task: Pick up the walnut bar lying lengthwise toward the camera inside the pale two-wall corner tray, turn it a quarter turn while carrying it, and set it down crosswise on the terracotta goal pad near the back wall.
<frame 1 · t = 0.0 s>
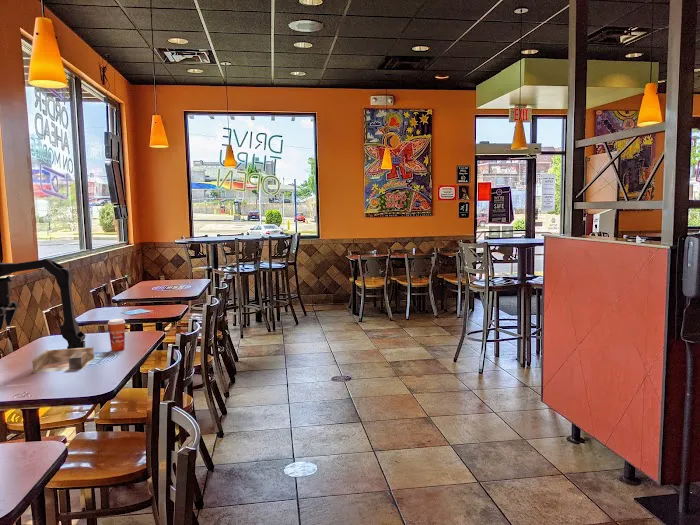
hand: (4, 327, 232), 15 cm above the table, fingers open, 9 cm apart
walnut block: (78, 365, 221), point 1 cm above the table, touching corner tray
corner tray: (66, 366, 222), on the table
paper cup: (118, 350, 249), on the table
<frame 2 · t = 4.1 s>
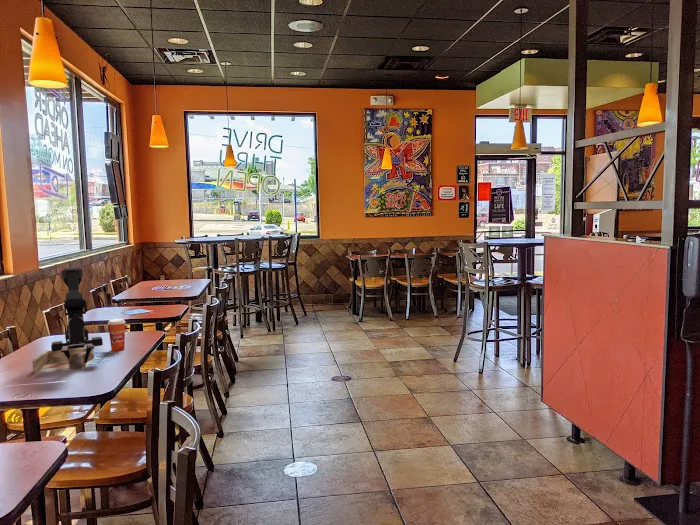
hand: (78, 364, 221), 1 cm above the table, fingers closed on walnut block, 5 cm apart
walnut block: (78, 365, 221), point 1 cm above the table, touching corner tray, gripper
everything else where it was.
when the fingers open (2 cm above the table, at t = 8.5 s): walnut block drops 1 cm, resting on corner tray.
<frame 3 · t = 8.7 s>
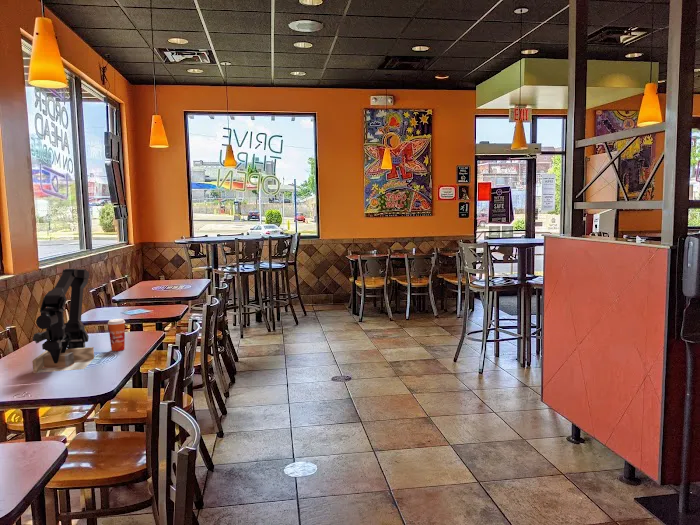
hand: (58, 360, 222), 2 cm above the table, fingers open, 7 cm apart
walnut block: (59, 365, 222), point 1 cm above the table, touching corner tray
everything else where it was.
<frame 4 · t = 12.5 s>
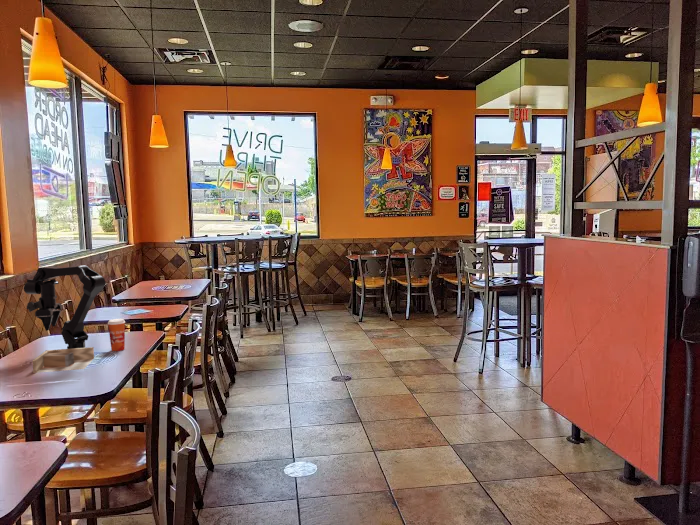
hand: (50, 328, 242), 12 cm above the table, fingers open, 9 cm apart
nothing on the table moved.
at the end: walnut block 0.1 cm from the target spot on the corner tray, point 0.7 cm above the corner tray's base; walnut block tilted 0°; the gripper is holding nothing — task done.
